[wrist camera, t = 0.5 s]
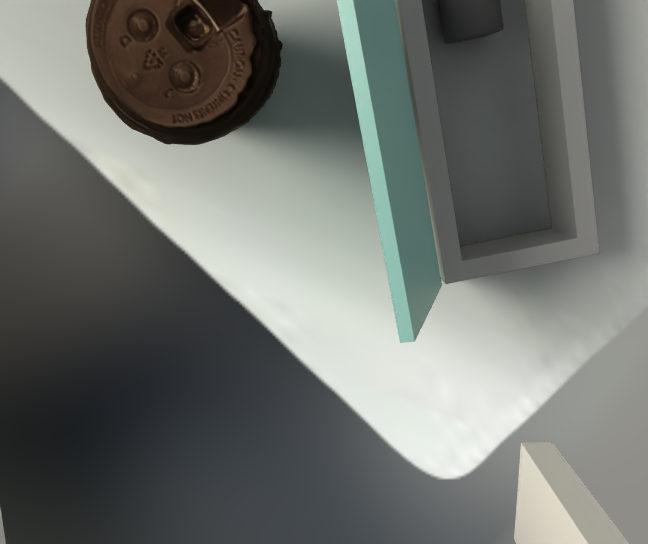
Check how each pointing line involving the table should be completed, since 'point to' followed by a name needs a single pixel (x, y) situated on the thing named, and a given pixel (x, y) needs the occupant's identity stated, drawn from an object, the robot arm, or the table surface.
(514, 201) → the table surface
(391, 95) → the cover
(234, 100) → the coffee cup
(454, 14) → the cylinder
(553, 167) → the grey flat bent block
